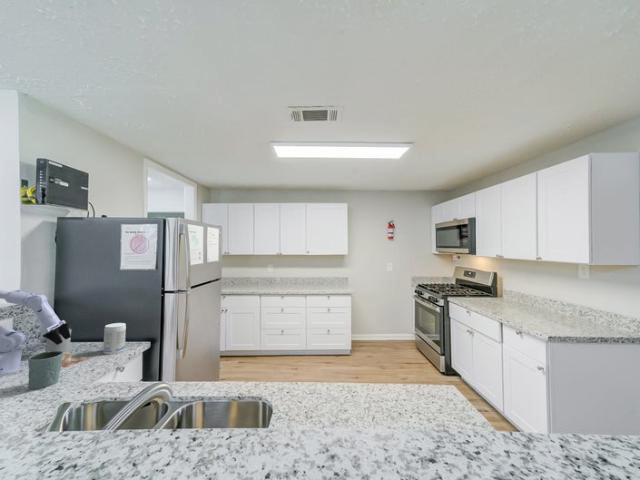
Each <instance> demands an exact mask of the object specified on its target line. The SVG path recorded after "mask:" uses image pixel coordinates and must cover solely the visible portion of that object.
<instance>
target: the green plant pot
mask: <svg viewBox="0 0 640 480" xmlns="http://www.w3.org/2000/svg"><path fill="white" fill-rule="evenodd" d="M62 357H63V352H62V351H47V352H45V351H42V352H39V353H38V352H37V353H36V354H32V355H30V356H28V357H27V358H28V359H27V360H28V369H29V370H28V389H29V390H32V391H35V390H43V389H46V388H48V387H51V386H54V385H55V384H57V383H59V378H60V372H61V361H62Z"/></svg>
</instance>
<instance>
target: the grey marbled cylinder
mask: <svg viewBox="0 0 640 480" xmlns="http://www.w3.org/2000/svg"><path fill="white" fill-rule="evenodd" d="M69 331H70V335H71V337H72V328H69ZM59 334H60V333H59ZM60 337H61V339H62V341H63V342H62V343H60V344H58V345H57V344H55V343H54V342H53V341H51V340H49V339H47V338H45V339H46V342H45V350H44V352H47V351H62V352H66V353H71V352H70V350H71V349H70V348H71V337H70V338H68V339H64V338H63V336H62V335H61V334H60Z"/></svg>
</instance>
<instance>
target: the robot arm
mask: <svg viewBox="0 0 640 480" xmlns="http://www.w3.org/2000/svg"><path fill="white" fill-rule="evenodd" d="M0 299H2V300H4V301H5V302H6V303H8V304H13V305H14V304H15V305H19V306H25V307H26V308H28V309H31V310H32V311H33V313H34V315H36V317H37V319H38V320H39V321H40V323H41V324H42V325H43V327H44V329H43V330H41V331H42V333H43V335H42V337H43V338H45V339H49V340H51V341H53V342H54V343H55V344H57V345H58V344H60V343H62V342H63V341H62V339H61V337H60V334H61V335H62V336H63V338H64V339H68V338H70V337H72V334H71V335H70V331H69V329H70V323H69V322H66V320H64V319H63V320H60V318H59V316H58V315H57V314H56V313H55V310H54V309H53V308H52V307H51V305H50V304H49V302H48V301H49V300H48V297H47V295H45V294H42V293H38V294H35V292H26V291H25V292H24V291H22V290H21V289H16V290H12V291H5V290H1V289H0ZM59 333H60V334H59ZM26 340H27V336H26V335H25V333H24V332H22V331H16V330H14V329H12V328H11V329H10V328H6V327H4V325H1V324H0V375H4V374H7V373H10V372H13V371H16V370H19V369H22V368H26V367H27V366H26V365H23V364H21V363H22V354H23V352H22V351H23V344H24V343H25V341H26Z"/></svg>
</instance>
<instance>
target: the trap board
mask: <svg viewBox="0 0 640 480" xmlns="http://www.w3.org/2000/svg"><path fill="white" fill-rule="evenodd" d="M88 359H90V357H86V356H78V355H77V356H75V355H71V363H68V364H65V365H62V366H61V367H63V368H67V367H69V366H72V365H76V364H78V363H82V362H83V361H86V360H88Z"/></svg>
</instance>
